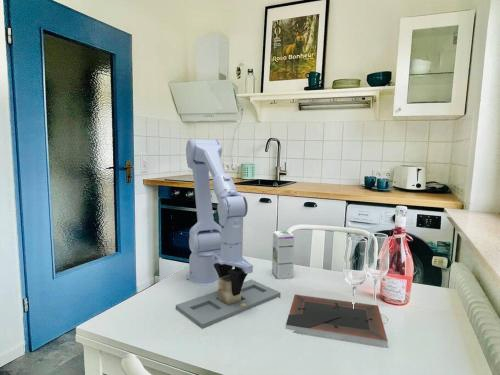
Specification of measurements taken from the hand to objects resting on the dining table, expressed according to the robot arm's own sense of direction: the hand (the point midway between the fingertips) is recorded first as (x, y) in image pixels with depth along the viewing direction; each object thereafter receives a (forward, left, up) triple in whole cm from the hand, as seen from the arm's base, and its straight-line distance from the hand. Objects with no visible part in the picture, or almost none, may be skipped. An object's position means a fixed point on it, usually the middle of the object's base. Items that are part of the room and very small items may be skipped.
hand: (230, 291), depth 86 cm
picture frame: (+23, +14, -4) cm, 27 cm away
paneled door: (0, 0, -3) cm, 3 cm away
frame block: (0, 0, -2) cm, 2 cm away
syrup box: (-5, +26, -4) cm, 27 cm away
